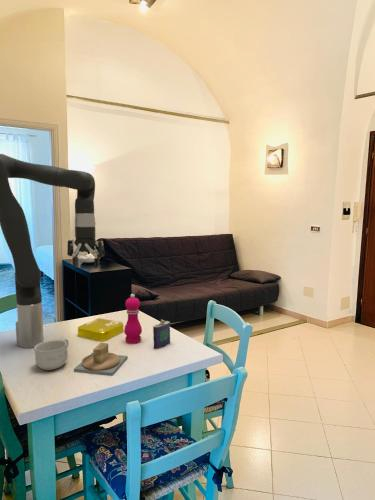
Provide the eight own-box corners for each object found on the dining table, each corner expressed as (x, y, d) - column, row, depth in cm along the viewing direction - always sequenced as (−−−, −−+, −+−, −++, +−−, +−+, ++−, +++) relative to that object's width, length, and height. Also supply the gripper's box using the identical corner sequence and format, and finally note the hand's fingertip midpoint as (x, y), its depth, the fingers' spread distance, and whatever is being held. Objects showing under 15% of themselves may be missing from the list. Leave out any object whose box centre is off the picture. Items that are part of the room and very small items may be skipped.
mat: (73, 371, 127) (73, 368, 126) (92, 355, 140) (92, 352, 140) (112, 375, 124) (112, 372, 124) (127, 358, 137) (127, 355, 137)
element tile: (99, 326, 173) (98, 316, 173) (125, 332, 167) (125, 321, 166) (75, 336, 160) (75, 326, 159) (103, 343, 153) (102, 331, 153)
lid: (75, 368, 126) (74, 351, 126) (92, 353, 139) (91, 338, 138) (111, 372, 124) (110, 355, 123) (125, 356, 137) (124, 340, 136)
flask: (166, 341, 155) (166, 316, 153) (172, 342, 153) (172, 317, 151) (151, 348, 147) (151, 322, 146) (157, 350, 146) (157, 323, 144)
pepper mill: (121, 342, 153) (120, 295, 150) (130, 336, 159) (129, 291, 157) (136, 345, 150) (135, 296, 147) (145, 339, 157) (144, 292, 154)
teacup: (48, 376, 123) (47, 353, 122) (28, 368, 129) (27, 346, 128) (81, 361, 135) (80, 339, 134) (61, 354, 141) (60, 334, 140)
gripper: (62, 225, 139) (64, 268, 142) (98, 226, 137) (99, 269, 139) (72, 224, 147) (74, 265, 149) (106, 225, 144) (107, 266, 146)
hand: (86, 267), depth 144 cm, fingers open, 8 cm apart
